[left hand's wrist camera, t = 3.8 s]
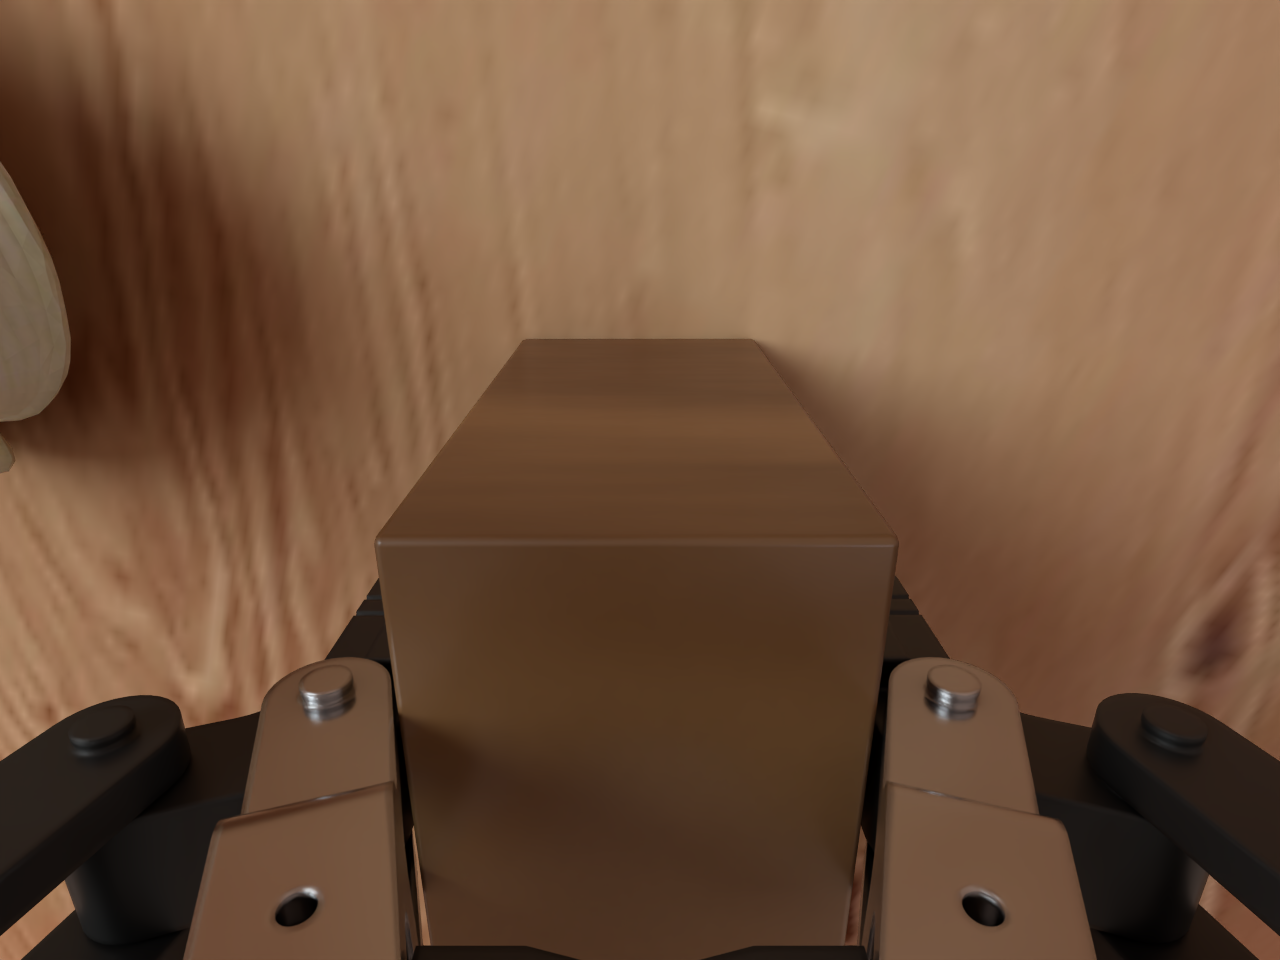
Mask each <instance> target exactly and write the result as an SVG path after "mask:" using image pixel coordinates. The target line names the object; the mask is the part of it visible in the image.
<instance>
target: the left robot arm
mask: <svg viewBox="0 0 1280 960" xmlns="http://www.w3.org/2000/svg"><path fill="white" fill-rule="evenodd" d="M908 596H909V595H908V594H907V592H906V591H905V589H904V588H903V586H902V584H901V583H900V581H899V580H898V578H897V577H896V576H894V584H893V591H892V598H891V606H890V613H889V621H888V628H887V635H886V643H885V650H884V657H883V665H882V672H881V680H880V687H879V694H878V702H877V709H876V716H875V724H874V731H873V738H872V746H871V753H870V761H869V768H868V775H867V783H866V790H865V797H864V805H863V812H862V820H861V826H862V829H863V832H864V835H865V837H866V847H865V854H864V863H863V876H862V888H861V901H860V914H859V927H858V939H857V946H751V947H747V948H743V949H739V950H735V951H731V952H728V953H724V954H720V955H716V956H712V957H708V958H704V959H701V960H1259V959H1258V958H1257V957H1255V956H1254V955H1253V954H1252V953H1251V952H1250V951H1249V950H1248V949H1247V948H1246V947H1245V946H1244V945H1243V944H1241V943H1240V942H1239V941H1238V940H1237V939H1236V938H1235V937H1234V936H1233V935H1232V934H1231V933H1230V932H1228V931H1227V930H1226V929H1225V928H1224V927H1223V926H1222V925H1221V924H1220V923H1219V922H1218V921H1217V920H1215V919H1214V918H1213V917H1212V916H1211V915H1210V914H1209V913H1208V912H1207V911H1206V910H1205V909H1204V908H1202V907H1201V906H1200V905H1199V901H1200V898H1201V895H1202V893H1203V890H1204V887H1205V884H1206V882H1207V879H1208V876H1209V875H1210V876H1212V877H1213V878H1214V879H1215V880H1216V881H1217V882H1218V883H1220V884H1221V885H1222V886H1223V887H1224V888H1225V889H1227V890H1228V891H1229V892H1230V893H1231V894H1232V895H1233V896H1235V897H1236V898H1237V899H1238V900H1239V901H1240V902H1241V903H1243V904H1244V905H1245V906H1246V907H1247V908H1248V909H1249V910H1251V911H1252V912H1253V913H1254V914H1255V915H1256V916H1257V917H1259V918H1260V919H1261V920H1262V921H1263V922H1264V923H1265V924H1267V925H1268V926H1269V927H1270V928H1271V929H1272V930H1273V931H1275V932H1276V933H1277V934H1278V935H1279V936H1280V761H1278V760H1277V759H1275V758H1274V757H1272V756H1271V755H1269V754H1268V753H1266V752H1265V751H1263V750H1262V749H1261V748H1259V747H1258V746H1256V745H1255V744H1253V743H1252V742H1250V741H1249V740H1247V739H1246V738H1244V737H1243V736H1241V735H1240V734H1238V733H1237V732H1235V731H1234V730H1232V729H1231V728H1229V727H1228V726H1226V725H1225V724H1223V723H1222V722H1220V721H1218V720H1217V719H1215V718H1214V717H1212V716H1210V715H1208V714H1206V713H1204V712H1202V711H1200V710H1198V709H1196V708H1194V707H1191V706H1189V705H1186V704H1184V703H1181V702H1178V701H1175V700H1171V699H1168V698H1164V697H1160V696H1154V695H1149V694H1139V693H1125V694H1117V695H1114V696H1110V697H1108V698H1106V699H1104V700H1103V701H1102V702H1101V703H1100V704H1099V705H1098V708H1097V710H1096V714H1095V718H1094V722H1093V725H1092V728H1089V727H1084V726H1079V725H1075V724H1070V723H1065V722H1060V721H1055V720H1050V719H1045V718H1040V717H1035V716H1031V715H1027V714H1024V713H1021V712H1019V706H1018V703H1017V700H1016V697H1015V696H1014V694H1013V692H1012V691H1011V690H1010V689H1009V688H1008V687H1007V685H1006V684H1004V683H1003V682H1002V681H1001V680H999V679H998V678H997V677H995V676H994V675H992V674H990V673H989V672H987V671H985V670H983V669H981V668H978V667H976V666H973V665H971V664H968V663H965V662H961V661H957V660H953V659H950V658H949V657H948V655H947V654H946V652H945V651H944V649H943V647H942V646H941V644H940V643H939V641H938V640H937V638H936V637H935V635H934V634H933V632H932V631H931V629H930V627H929V626H928V624H927V623H926V621H925V620H924V618H923V617H922V615H919V611H918V609H917V607H916V606H915V604H914V603H913V601H912V600H911V599H909V597H908ZM413 826H414V822H413V815H412V808H411V801H410V794H409V787H408V780H407V773H406V766H405V758H404V751H403V744H402V737H401V730H400V723H399V716H398V709H397V702H396V694H395V687H394V680H393V673H392V666H391V659H390V652H389V645H388V638H387V630H386V623H385V616H384V609H383V602H382V595H381V588H380V581H379V578H378V580H377V581H376V583H375V584H374V586H373V587H372V589H371V590H370V592H369V593H368V595H367V600H364V601H363V602H362V604H361V606H360V607H359V609H358V610H357V614H356V616H353V618H352V619H351V621H350V622H349V624H348V625H347V627H346V628H345V630H344V631H343V633H342V634H341V636H340V637H339V639H338V640H337V642H336V643H335V645H334V646H333V648H332V649H331V651H330V652H329V654H328V655H327V657H326V658H325V660H323V661H319V662H315V663H312V664H309V665H307V666H304V667H302V668H299V669H297V670H295V671H293V672H291V673H290V674H288V675H286V676H285V677H283V678H282V679H281V680H279V681H278V682H277V683H276V684H274V685H273V687H272V688H271V689H270V690H269V691H268V692H267V694H266V696H265V697H264V700H263V703H262V706H261V711H260V712H257V713H254V714H251V715H247V716H243V717H239V718H235V719H230V720H225V721H220V722H215V723H210V724H205V725H200V726H195V727H190V728H185V727H184V723H183V719H182V715H181V712H180V709H179V707H178V706H177V705H176V704H175V703H174V702H173V701H171V700H169V699H167V698H163V697H160V696H152V695H138V696H128V697H123V698H118V699H113V700H110V701H106V702H102V703H99V704H96V705H94V706H91V707H88V708H86V709H84V710H81V711H79V712H77V713H75V714H73V715H71V716H69V717H67V718H65V719H63V720H62V721H60V722H59V723H57V724H55V725H54V726H52V727H51V728H49V729H48V730H46V731H45V732H43V733H42V734H40V735H39V736H37V737H36V738H34V739H33V740H31V741H30V742H28V743H27V744H25V745H24V746H22V747H21V748H19V749H18V750H16V751H15V752H14V753H12V754H11V755H9V756H8V757H6V758H5V759H3V760H2V761H0V936H1V935H2V934H3V933H4V932H5V931H7V930H8V929H9V928H10V927H11V926H12V925H13V924H15V923H16V922H17V921H18V920H19V919H20V918H21V917H23V916H24V915H25V914H26V913H27V912H28V911H29V910H31V909H32V908H33V907H34V906H35V905H36V904H37V903H39V902H40V901H41V900H42V899H43V898H44V897H45V896H47V895H48V894H49V893H50V892H51V891H52V890H53V889H55V888H56V887H57V886H58V885H59V884H60V883H61V882H63V881H64V880H65V882H66V885H67V888H68V890H69V893H70V896H71V899H72V901H73V904H74V907H75V910H74V911H73V912H72V913H71V914H70V915H69V916H68V917H67V918H66V919H65V920H63V921H62V922H61V923H60V924H59V925H58V926H57V927H56V928H55V929H54V930H53V931H52V932H50V933H49V934H48V935H47V936H46V937H45V938H44V939H43V940H42V941H41V942H40V943H39V944H37V945H36V946H35V947H34V948H33V949H32V950H31V951H30V952H29V953H28V954H27V955H26V956H24V957H23V958H22V959H21V960H579V959H576V958H572V957H568V956H564V955H560V954H556V953H552V952H549V951H545V950H541V949H537V948H533V947H529V946H423V939H422V927H421V914H420V901H419V888H418V876H417V863H416V854H415V846H414V839H413V832H412V828H413Z"/></svg>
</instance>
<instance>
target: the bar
mask: <svg viewBox="0 0 1280 960" xmlns="http://www.w3.org/2000/svg"><path fill="white" fill-rule="evenodd" d="M374 545H375V552H376V559H377V566H378V574H379V581H380V588H381V595H382V602H383V609H384V616H385V623H386V630H387V638H388V645H389V652H390V659H391V666H392V673H393V680H394V687H395V694H396V702H397V709H398V716H399V723H400V730H401V737H402V744H403V751H404V758H405V766H406V773H407V780H408V787H409V794H410V801H411V808H412V815H413V822H414V830H415V837H416V844H417V851H418V858H419V865H420V872H421V879H422V886H423V894H424V901H425V908H426V915H427V922H428V929H429V936H430V943H431V946H529V947H533V948H537V949H541V950H545V951H549V952H552V953H556V954H560V955H564V956H568V957H572V958H576V959H579V960H701V959H704V958H708V957H712V956H716V955H720V954H724V953H728V952H731V951H735V950H739V949H743V948H747V947H751V946H844V945H845V938H846V930H847V923H848V915H849V908H850V901H851V893H852V886H853V879H854V871H855V864H856V856H857V849H858V842H859V834H860V827H861V820H862V812H863V805H864V797H865V790H866V783H867V775H868V768H869V761H870V753H871V746H872V738H873V731H874V724H875V716H876V709H877V702H878V694H879V687H880V680H881V672H882V665H883V657H884V650H885V643H886V635H887V628H888V621H889V613H890V606H891V598H892V591H893V584H894V576H895V569H896V562H897V554H898V547H899V541H898V538H897V536H896V534H895V533H894V532H893V530H892V529H891V528H890V526H889V525H888V524H887V522H886V521H885V519H884V518H883V517H882V515H881V514H880V513H879V511H878V510H877V508H876V507H875V506H874V504H873V503H872V502H871V500H870V499H869V497H868V496H867V495H866V493H865V492H864V491H863V489H862V488H861V486H860V485H859V484H858V482H857V481H856V480H855V478H854V477H853V475H852V474H851V473H850V471H849V470H848V469H847V467H846V466H845V464H844V463H843V462H842V460H841V459H840V458H839V456H838V455H837V453H836V452H835V451H834V449H833V448H832V447H831V445H830V444H829V442H828V441H827V440H826V438H825V437H824V436H823V434H822V433H821V431H820V430H819V429H818V427H817V426H816V425H815V423H814V422H813V421H812V419H811V418H810V416H809V415H808V414H807V412H806V411H805V410H804V408H803V407H802V405H801V404H800V403H799V401H798V400H797V399H796V397H795V396H794V394H793V393H792V392H791V390H790V389H789V388H788V386H787V385H786V383H785V382H784V381H783V379H782V378H781V377H780V375H779V374H778V372H777V371H776V370H775V368H774V367H773V366H772V364H771V363H770V361H769V360H768V359H767V357H766V356H765V355H764V353H763V352H762V350H761V349H760V348H759V346H758V345H757V344H756V342H755V341H754V340H752V339H526V340H523V341H522V343H521V344H520V345H519V347H518V348H517V349H516V351H515V352H514V353H513V355H512V356H511V357H510V359H509V360H508V361H507V363H506V364H505V365H504V367H503V368H502V369H501V371H500V372H499V373H498V375H497V376H496V377H495V379H494V380H493V381H492V383H491V384H490V385H489V387H488V388H487V389H486V391H485V392H484V393H483V395H482V396H481V397H480V399H479V400H478V401H477V403H476V404H475V405H474V407H473V408H472V409H471V411H470V412H469V413H468V415H467V416H466V417H465V419H464V420H463V421H462V423H461V424H460V425H459V427H458V428H457V429H456V431H455V432H454V433H453V435H452V436H451V437H450V439H449V440H448V442H447V443H446V444H445V446H444V447H443V448H442V450H441V451H440V452H439V454H438V455H437V456H436V458H435V459H434V460H433V462H432V463H431V464H430V466H429V467H428V468H427V470H426V471H425V472H424V474H423V475H422V476H421V478H420V479H419V480H418V482H417V483H416V484H415V486H414V487H413V488H412V490H411V491H410V492H409V494H408V495H407V496H406V498H405V499H404V500H403V502H402V503H401V504H400V506H399V507H398V508H397V510H396V511H395V512H394V514H393V515H392V516H391V518H390V519H389V520H388V522H387V523H386V524H385V526H384V527H383V528H382V530H381V531H380V532H379V534H378V535H377V536H376V539H375V542H374Z"/></svg>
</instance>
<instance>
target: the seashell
mask: <svg viewBox="0 0 1280 960" xmlns="http://www.w3.org/2000/svg"><path fill="white" fill-rule="evenodd" d="M70 352H71V337H70V331H69V325H68V319H67V313H66V309H65V304H64V300H63V295H62V291H61V286H60V282H59V279H58V276H57V273H56V270H55V267H54V264H53V261H52V258H51V256H50V253H49V251H48V249H47V247H46V244H45V242H44V240H43V238H42V236H41V233H40V231H39V229H38V227H37V225H36V223H35V222H34V220H33V218H32V216H31V214H30V212H29V210H28V209H27V207H26V205H25V203H24V201H23V199H22V197H21V195H20V194H19V192H18V190H17V188H16V186H15V184H14V182H13V180H12V179H11V177H10V175H9V174H8V172H7V171H6V169H5V168H4V166H3V165H2V163H1V162H0V422H3V421H16V420H22V419H25V418H28V417H31V416H34V415H37V414H39V413H40V412H41V411H42V410H43V409H44V408H45V407H46V406H47V405H49V403H50V402H51V401H52V400H53V399H54V398H55V397H56V395H57V394H58V392H59V390H60V388H61V386H62V385H63V383H64V381H65V379H66V377H67V375H68V370H69V365H70ZM14 462H15V458H14V453H13V449H12V448H11V446H10V445H9V444H8V442H7V441H6V440H5V438H4V437H3V436H2V434H1V433H0V473H2V472H7V471H9V470H10V469H11V467H12V466H13V464H14Z"/></svg>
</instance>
